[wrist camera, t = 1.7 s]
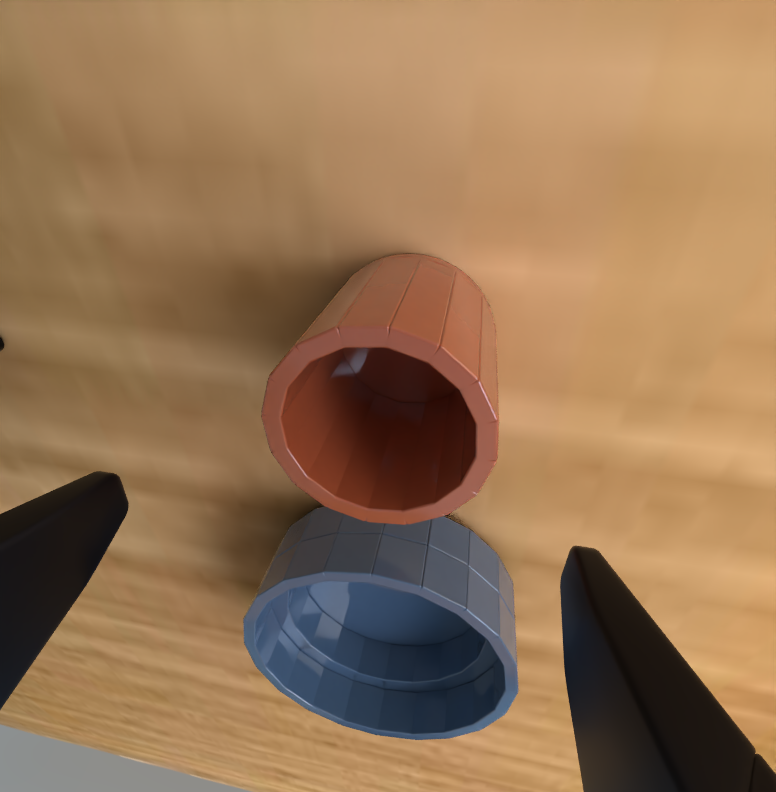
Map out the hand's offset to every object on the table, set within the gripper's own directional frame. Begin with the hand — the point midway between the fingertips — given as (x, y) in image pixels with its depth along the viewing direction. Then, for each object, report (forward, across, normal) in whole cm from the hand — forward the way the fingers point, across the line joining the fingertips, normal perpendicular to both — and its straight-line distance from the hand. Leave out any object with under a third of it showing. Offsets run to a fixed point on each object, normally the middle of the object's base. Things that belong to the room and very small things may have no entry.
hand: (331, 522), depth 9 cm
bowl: (+11, 0, +16) cm, 19 cm away
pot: (+11, 0, +1) cm, 11 cm away
